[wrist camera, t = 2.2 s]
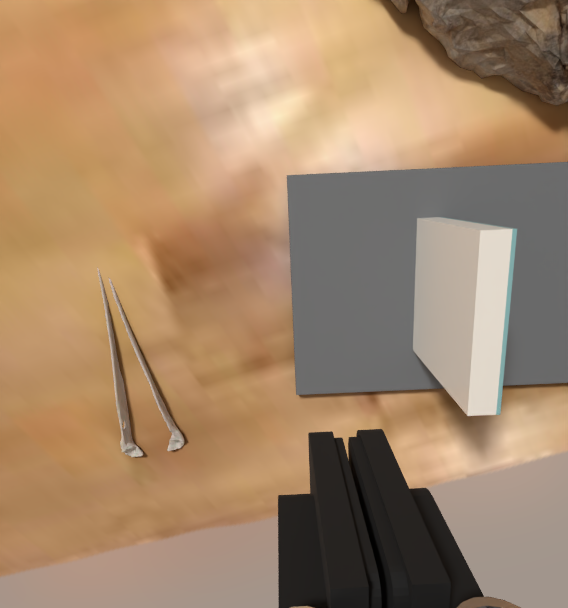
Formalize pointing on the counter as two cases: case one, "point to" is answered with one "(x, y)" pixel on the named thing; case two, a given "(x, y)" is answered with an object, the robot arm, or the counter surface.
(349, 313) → the mat
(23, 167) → the counter surface
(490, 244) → the tile
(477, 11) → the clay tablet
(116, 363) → the old metal nails
